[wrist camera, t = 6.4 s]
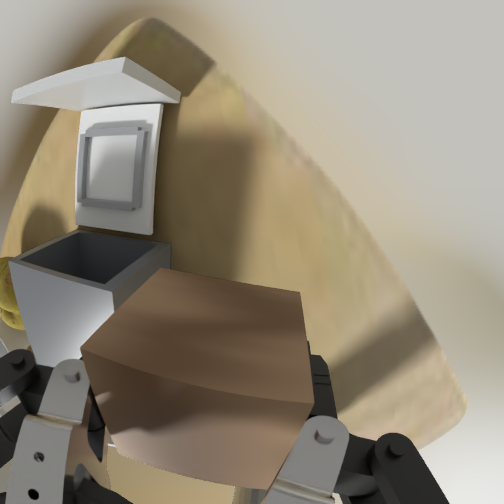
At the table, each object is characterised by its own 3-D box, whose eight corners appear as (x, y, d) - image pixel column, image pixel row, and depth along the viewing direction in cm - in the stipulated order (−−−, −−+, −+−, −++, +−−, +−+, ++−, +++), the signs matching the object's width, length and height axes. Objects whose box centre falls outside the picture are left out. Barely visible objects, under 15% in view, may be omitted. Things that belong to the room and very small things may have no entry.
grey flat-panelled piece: (181, 90, 23) (126, 54, 13) (167, 233, 28) (109, 274, 17) (81, 100, 24) (13, 88, 13) (73, 220, 29) (8, 247, 18)
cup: (19, 325, 38) (-10, 349, 29) (16, 294, 36) (-19, 317, 26) (45, 346, 39) (16, 374, 29) (42, 315, 36) (7, 344, 26)
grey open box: (171, 243, 29) (112, 292, 18) (172, 351, 34) (136, 417, 22) (76, 229, 30) (8, 260, 18) (89, 326, 35) (42, 375, 23)
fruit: (39, 235, 31) (-9, 256, 22) (70, 305, 34) (30, 338, 25) (11, 256, 33) (-28, 277, 24) (38, 316, 36) (4, 344, 27)
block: (299, 292, 9) (314, 402, 5) (273, 390, 11) (267, 489, 6) (160, 267, 10) (79, 347, 5) (163, 368, 11) (119, 454, 6)
